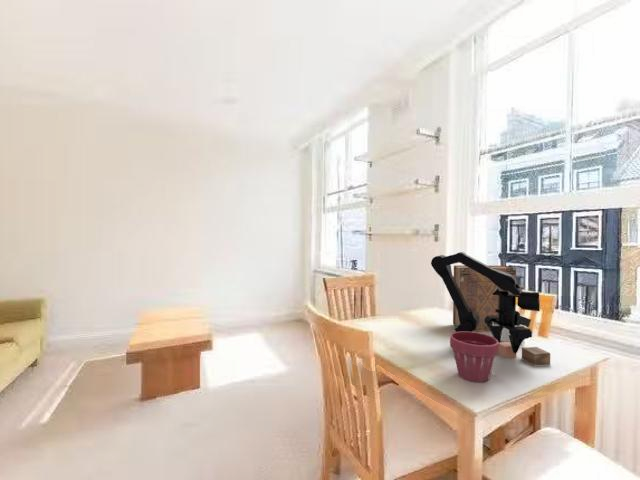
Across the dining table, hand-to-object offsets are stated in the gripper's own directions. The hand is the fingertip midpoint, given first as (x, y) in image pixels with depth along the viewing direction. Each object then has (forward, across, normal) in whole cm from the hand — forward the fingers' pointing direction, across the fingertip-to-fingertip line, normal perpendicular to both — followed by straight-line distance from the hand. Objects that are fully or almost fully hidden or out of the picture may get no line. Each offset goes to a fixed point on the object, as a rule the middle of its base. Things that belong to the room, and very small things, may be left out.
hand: (506, 348), depth 121 cm
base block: (+2, -7, -6) cm, 10 cm away
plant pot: (+3, -14, +22) cm, 26 cm away
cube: (+3, 0, 0) cm, 3 cm away
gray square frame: (+3, -7, -6) cm, 10 cm away
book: (+3, +33, -12) cm, 35 cm away
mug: (+3, +12, -12) cm, 17 cm away
